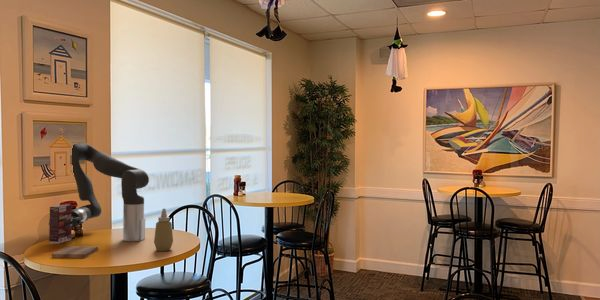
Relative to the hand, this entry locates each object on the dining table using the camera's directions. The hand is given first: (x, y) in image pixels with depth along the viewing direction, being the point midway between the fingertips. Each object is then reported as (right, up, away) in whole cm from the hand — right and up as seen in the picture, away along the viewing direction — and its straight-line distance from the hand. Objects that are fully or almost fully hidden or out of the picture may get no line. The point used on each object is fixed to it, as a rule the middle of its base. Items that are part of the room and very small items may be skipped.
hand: (57, 224), depth 198 cm
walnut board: (+12, -11, -9) cm, 18 cm away
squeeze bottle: (+46, -11, +1) cm, 47 cm away
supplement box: (0, -8, +3) cm, 9 cm away
